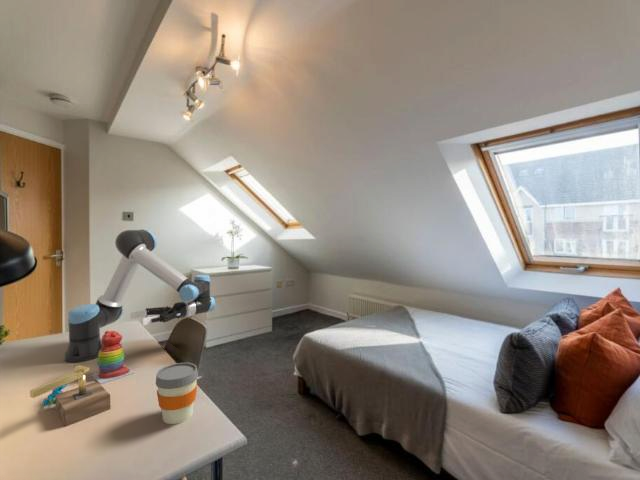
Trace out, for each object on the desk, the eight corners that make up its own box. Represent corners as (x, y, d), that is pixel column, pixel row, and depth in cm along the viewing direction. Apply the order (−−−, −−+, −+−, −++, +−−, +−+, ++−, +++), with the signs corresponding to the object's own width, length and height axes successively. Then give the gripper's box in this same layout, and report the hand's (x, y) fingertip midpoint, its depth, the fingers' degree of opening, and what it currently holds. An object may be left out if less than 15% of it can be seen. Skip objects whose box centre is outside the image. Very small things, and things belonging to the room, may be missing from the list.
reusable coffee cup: (205, 414, 103) (204, 370, 102) (166, 433, 93) (165, 384, 93) (188, 400, 111) (187, 359, 110) (150, 416, 102) (149, 371, 101)
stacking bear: (131, 371, 132) (130, 330, 131) (104, 381, 123) (103, 337, 123) (119, 365, 138) (118, 325, 137) (93, 374, 129) (91, 332, 129)
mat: (91, 374, 130) (91, 374, 130) (123, 365, 139) (123, 364, 139) (100, 384, 122) (100, 383, 122) (133, 373, 131) (133, 372, 131)
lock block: (55, 409, 105) (54, 394, 105) (97, 394, 115) (97, 380, 114) (65, 426, 96) (65, 409, 96) (110, 409, 106) (110, 393, 105)
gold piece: (80, 390, 107) (80, 364, 107) (90, 392, 105) (89, 367, 105) (27, 415, 93) (26, 386, 93) (37, 418, 91) (36, 389, 91)
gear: (47, 392, 113) (69, 371, 115) (62, 400, 116) (84, 379, 117) (34, 413, 103) (59, 389, 105) (51, 421, 106) (75, 398, 107)
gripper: (196, 322, 145) (148, 333, 129) (172, 312, 161) (126, 321, 145) (196, 306, 145) (147, 315, 129) (172, 297, 161) (126, 305, 145)
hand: (136, 318), depth 137 cm, fingers open, 13 cm apart
